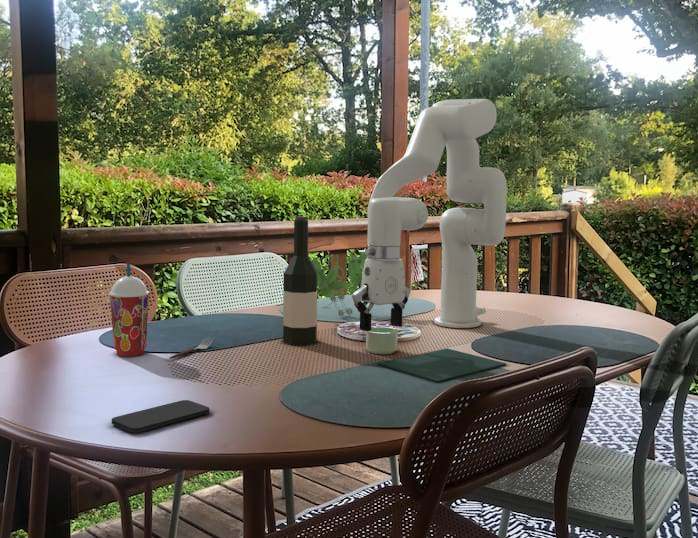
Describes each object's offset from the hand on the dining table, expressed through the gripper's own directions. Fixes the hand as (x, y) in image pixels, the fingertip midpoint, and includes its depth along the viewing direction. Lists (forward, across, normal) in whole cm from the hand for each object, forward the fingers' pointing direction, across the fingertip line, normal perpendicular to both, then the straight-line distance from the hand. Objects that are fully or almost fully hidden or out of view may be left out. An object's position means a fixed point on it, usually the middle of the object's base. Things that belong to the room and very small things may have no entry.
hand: (380, 327), depth 172 cm
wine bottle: (+6, -8, +19) cm, 22 cm away
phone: (+7, -60, -12) cm, 62 cm away
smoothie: (+6, -45, +32) cm, 56 cm away
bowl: (+6, +1, 0) cm, 6 cm away
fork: (+6, -34, +25) cm, 43 cm away
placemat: (+6, +3, -17) cm, 18 cm away
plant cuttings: (+5, +19, +40) cm, 45 cm away
